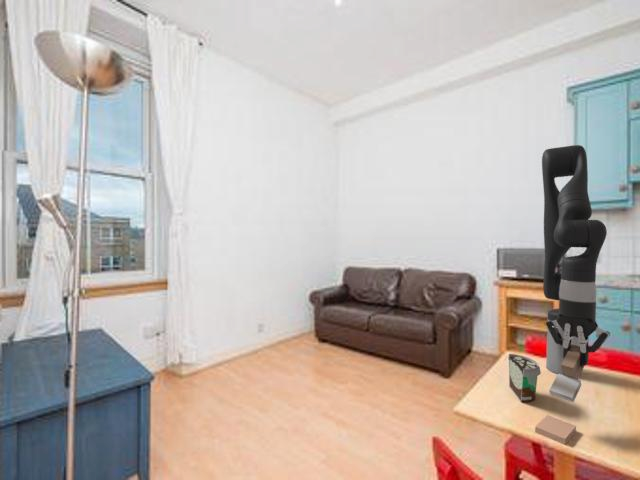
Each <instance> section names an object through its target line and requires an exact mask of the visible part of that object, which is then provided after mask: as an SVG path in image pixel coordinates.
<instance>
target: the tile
mask: <svg viewBox="0 0 640 480" xmlns="http://www.w3.org/2000/svg"><path fill="white" fill-rule="evenodd" d="M534 432H535V433H536V434H538V435H541V436H543V437H546V438H548V439H550V440H553V441H555V442H557V443H560V444H562V445H564V446H565V445H566V444H567V443H568V442H569V440H571V438H572V437H573V435H574V434H575V433H576V432H577V425H575V424H572V423H569V422H567V421H565V420H561V419H559V418H556V417H554V416H551V415H548V414H547V415H545V417H544V418H542V419H541V420H540V421H539V422H538V423H537V424H536V425H535V426H534Z"/></svg>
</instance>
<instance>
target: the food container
mask: <svg viewBox="0 0 640 480" xmlns="http://www.w3.org/2000/svg"><path fill="white" fill-rule="evenodd" d="M508 373H509V374H508V379H509V380H508V381H509V384H508V385H509V388H510V391H512V393H513V394H514V395H515V397H516V398H517V399H518V400H519V402H520V403H527V404H528V403H532V402H534V401H535V400H536V393H537V392H536V391H537V385H538V384H537V383H538V376H540V375H541V374H542V371H541V367H540V366H539V363H538V362H537V361H536V360H534V359H532V358H529V357H527V356H524V355H520V354H514V353H509V354H508Z"/></svg>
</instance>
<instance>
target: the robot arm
mask: <svg viewBox="0 0 640 480" xmlns="http://www.w3.org/2000/svg"><path fill="white" fill-rule="evenodd" d="M587 156H588V155H587V151H586V149H585V148H584V146H583V145H580V144H577V145H575V144H574V145H567V146H566V145H565V146H558V147H553V148H552V147H550V148H547V149H545V150H544V151H543V153H542V155H541V170H542V171H541V172H542V184H543V199H544V200H543V201H544V202H543V204H544V205H543V206H544V207H543V240H544V241H543V242H544V243H543V244H544V267H543V281H542V282H543V285H542V290H543V295H544V297H545V298H546V299H548V300H551V301H552V300H553V301H558V308H553V309H550V310H547V311H548V312H547V321H546V323H545V325H546V327H547V331H546V335H547V336H546V359H545V361H546V365H545V367H546V369H547V370H548V371H550V372H553V373H554V374H556V375H558V374H561V375H563V373H562V368H561V363H562V362H563V360H564V358H565V356H566V354H567V352H568V351H570V347H571V345H576V346H580V351H581V352H580V366H581V367H584V368H585V366H586V365H588V364H589V354H590V353H595V352H597V351H598V350H599V349H600V348H601V347H602V345H603V344H604V343H605V342H606V341H607V340H608V338H609V337H610V336H611V332H610V331H607V330H604V329H601V328H600V327H599V326H598V322H597V321H596V316H597V315H596V314H597V286H596V285H597V284H596V277H597V275H596V274H597V263H598V259H599V256H600V253H601V250H602V247H603V245H604V243H605V240H606V238H607V235H608V232H607V230H608V229H607V227H606V225H605V224H604V222H602V221H601V220H599V219H591V217H592V214H593V211H592V210H593V209H592V205H591V202H590V196H589V191H588V181H589V180H588V179H589V176H588V158H587ZM564 177H571V178H570V180H568V182H567V183H566V184H565V185H564V186H563V187H562V188H561V189H560V191H559V188H558V186H557V185H556V181H555V179H556V178H564ZM571 248H585V250H584V252H583V253H581V254H578V255H572V256H566V257H564V256H565V254H566V253H568V251H569V250H570V249H571ZM563 257H564V258H563ZM560 261H561V265H560V267H561V270H560V273H558V272H557V273H556V269H557V266H558V264H560ZM594 332H595V337H596V340H595V341H594V342H593V343H592V345H590V344H589V343H590V336H591V335H592V334H593V333H594Z"/></svg>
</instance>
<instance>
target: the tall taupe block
mask: <svg viewBox="0 0 640 480" xmlns="http://www.w3.org/2000/svg"><path fill="white" fill-rule="evenodd" d="M580 352H581V351H580V346H576V345H571V347H570V351H568V352H567V354H566V356H565V358H564V360H563V362H562V363H561V368H562V373H563V375H561V374H556V377H554V380H553V382H552V384H551V386H550V388H549V390H548V391H549V394H550V395H551V396H554V397H556V398H560V399H562V400H564V401H568V402H570V403H574V401H575V399H576V397H577V395H578V393H579V391H580V389H581V386H582V381H581V380H580V379H579V378H580V376H581V374H582V372H583V370H584V368H585V366H584V367H581V366H580Z"/></svg>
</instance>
